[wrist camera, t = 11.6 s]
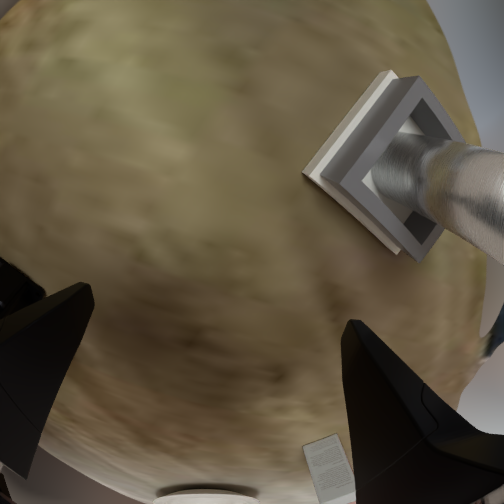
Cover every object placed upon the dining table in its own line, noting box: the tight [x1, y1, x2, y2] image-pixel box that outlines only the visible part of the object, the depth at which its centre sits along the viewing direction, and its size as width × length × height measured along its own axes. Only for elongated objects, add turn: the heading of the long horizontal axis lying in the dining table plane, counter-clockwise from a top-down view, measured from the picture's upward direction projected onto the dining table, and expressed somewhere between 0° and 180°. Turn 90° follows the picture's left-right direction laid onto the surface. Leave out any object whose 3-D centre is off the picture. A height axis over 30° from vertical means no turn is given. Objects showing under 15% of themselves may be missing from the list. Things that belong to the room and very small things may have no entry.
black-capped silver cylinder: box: [371, 132, 504, 265], centre depth 12 cm, size 5×5×12 cm
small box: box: [303, 433, 356, 504], centre depth 31 cm, size 8×6×10 cm
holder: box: [302, 70, 466, 263], centre depth 17 cm, size 10×10×4 cm
